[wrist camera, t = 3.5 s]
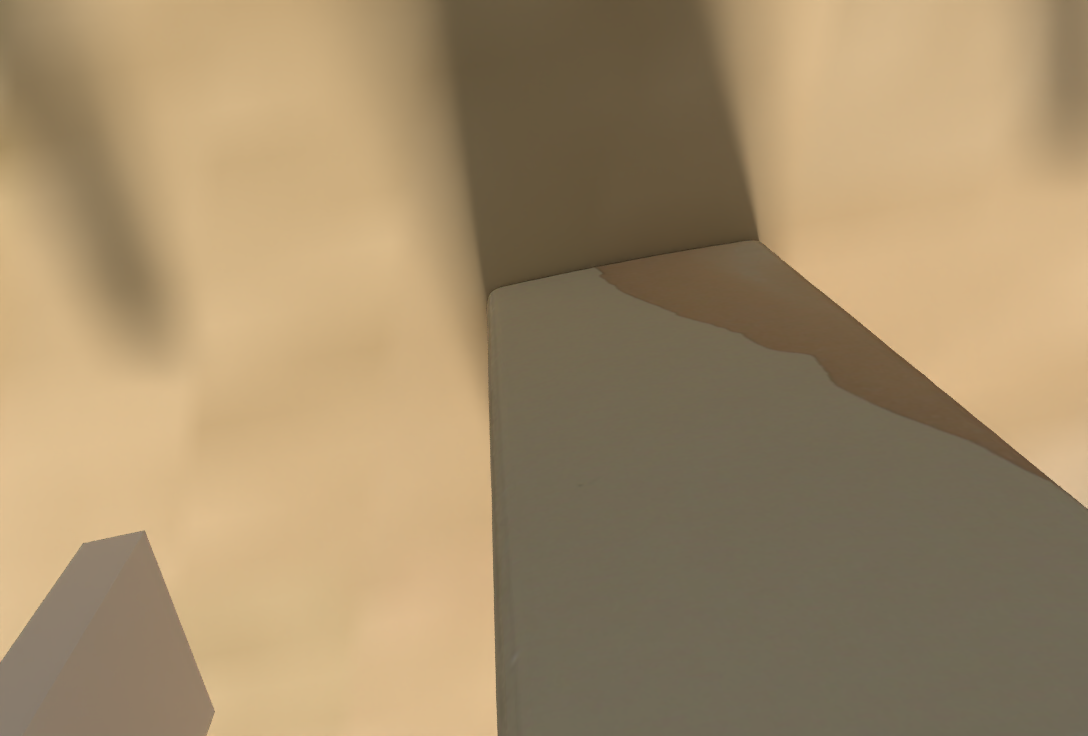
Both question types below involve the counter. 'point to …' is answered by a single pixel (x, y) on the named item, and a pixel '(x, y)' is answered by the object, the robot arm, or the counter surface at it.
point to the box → (761, 521)
